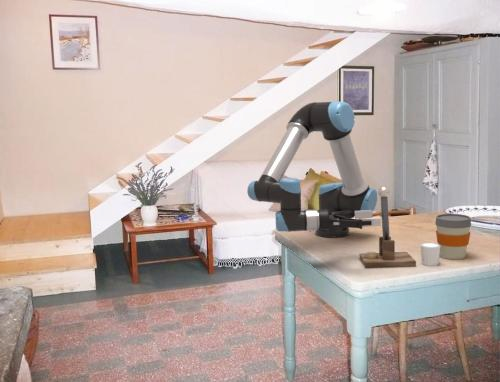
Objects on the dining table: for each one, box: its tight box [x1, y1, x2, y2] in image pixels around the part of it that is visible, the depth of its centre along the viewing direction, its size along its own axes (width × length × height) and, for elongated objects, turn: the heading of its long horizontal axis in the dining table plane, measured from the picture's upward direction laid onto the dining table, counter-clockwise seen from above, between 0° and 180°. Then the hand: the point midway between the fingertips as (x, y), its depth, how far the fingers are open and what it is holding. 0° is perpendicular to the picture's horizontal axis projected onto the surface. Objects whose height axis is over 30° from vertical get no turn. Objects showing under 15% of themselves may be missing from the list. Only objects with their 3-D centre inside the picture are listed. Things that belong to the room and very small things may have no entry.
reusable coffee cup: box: [435, 213, 472, 260], centre depth 198 cm, size 12×12×15 cm
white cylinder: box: [420, 242, 440, 267], centre depth 191 cm, size 7×7×7 cm
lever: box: [377, 186, 391, 246], centre depth 192 cm, size 4×4×24 cm
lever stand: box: [358, 235, 417, 269], centre depth 194 cm, size 12×18×9 cm, turn 89°
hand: (376, 217), depth 192 cm, fingers open, 13 cm apart
